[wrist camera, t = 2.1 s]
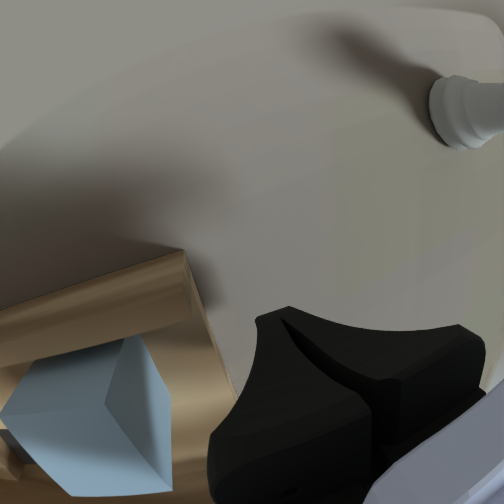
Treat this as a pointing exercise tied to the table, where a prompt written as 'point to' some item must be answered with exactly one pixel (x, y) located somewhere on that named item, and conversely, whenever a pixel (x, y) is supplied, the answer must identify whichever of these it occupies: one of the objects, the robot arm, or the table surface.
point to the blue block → (96, 420)
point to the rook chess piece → (466, 111)
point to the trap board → (110, 329)
